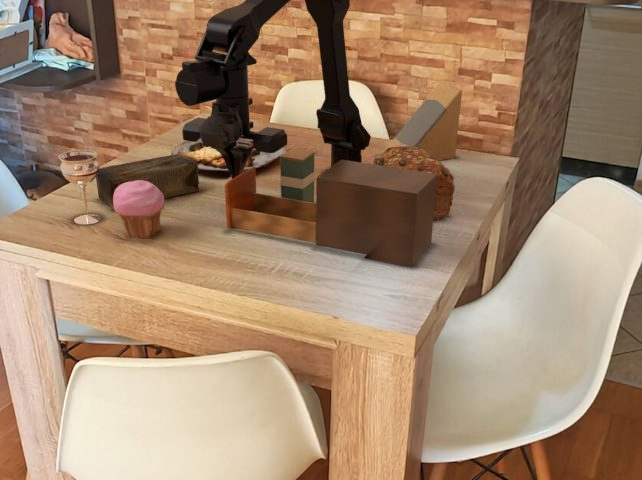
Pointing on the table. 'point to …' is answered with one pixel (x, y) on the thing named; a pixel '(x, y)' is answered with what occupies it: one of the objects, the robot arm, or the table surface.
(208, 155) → the food plate
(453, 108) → the sandwich container
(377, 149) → the table surface
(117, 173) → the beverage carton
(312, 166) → the long rectangular block
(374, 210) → the brown cupboard
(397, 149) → the bread
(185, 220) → the table surface
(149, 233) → the cupcake
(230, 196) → the drawer
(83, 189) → the wineglass
